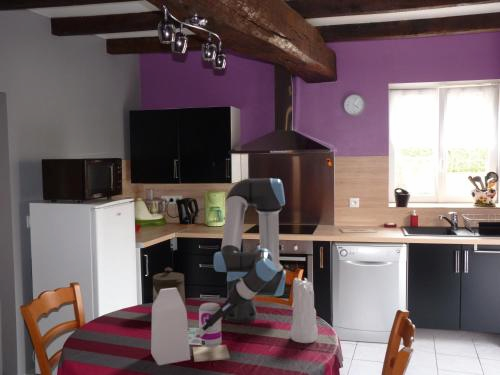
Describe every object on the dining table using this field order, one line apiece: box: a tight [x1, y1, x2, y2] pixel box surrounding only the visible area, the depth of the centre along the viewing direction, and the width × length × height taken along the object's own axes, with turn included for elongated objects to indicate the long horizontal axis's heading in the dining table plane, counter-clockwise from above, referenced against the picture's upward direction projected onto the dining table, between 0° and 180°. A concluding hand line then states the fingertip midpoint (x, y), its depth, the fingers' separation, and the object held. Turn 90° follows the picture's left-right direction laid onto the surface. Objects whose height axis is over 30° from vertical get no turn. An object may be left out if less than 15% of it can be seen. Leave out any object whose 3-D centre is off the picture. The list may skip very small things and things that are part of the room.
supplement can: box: [198, 302, 222, 347], centre depth 198 cm, size 8×8×15 cm
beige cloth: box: [192, 344, 231, 363], centre depth 199 cm, size 13×12×1 cm
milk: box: [150, 288, 191, 366], centre depth 196 cm, size 12×12×26 cm
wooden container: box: [152, 266, 186, 307], centre depth 246 cm, size 15×15×22 cm
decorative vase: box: [290, 277, 319, 344], centre depth 213 cm, size 11×11×25 cm
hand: (204, 329), depth 199 cm, fingers closed on supplement can, 8 cm apart
